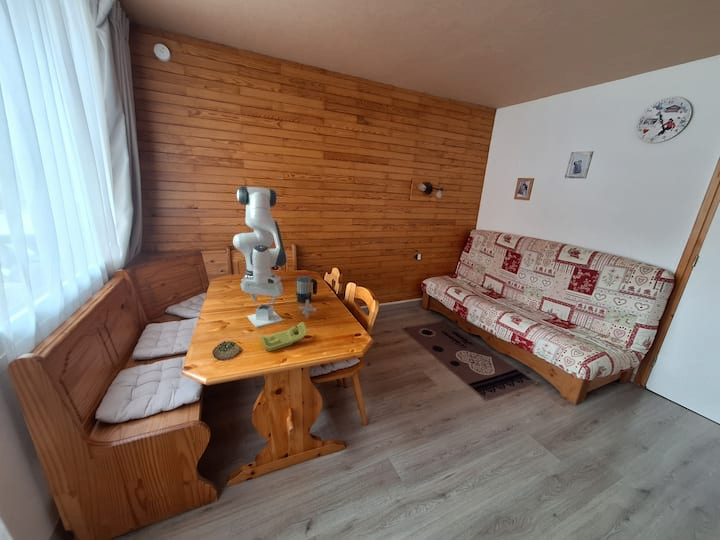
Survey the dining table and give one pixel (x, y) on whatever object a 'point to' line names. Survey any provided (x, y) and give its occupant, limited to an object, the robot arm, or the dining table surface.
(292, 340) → the plastic component
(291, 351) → the dining table surface
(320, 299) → the dining table surface
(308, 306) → the pipe connector
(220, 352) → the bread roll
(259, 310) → the sleeve
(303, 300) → the milk frother
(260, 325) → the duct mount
